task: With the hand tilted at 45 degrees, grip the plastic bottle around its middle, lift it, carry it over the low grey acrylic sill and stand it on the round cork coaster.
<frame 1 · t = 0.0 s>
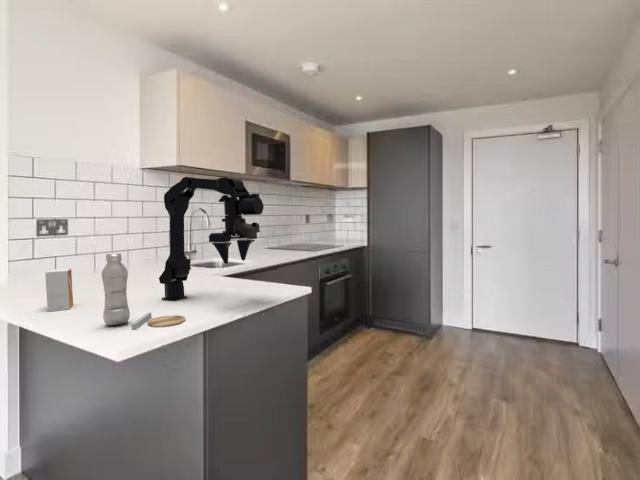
hand: (235, 261, 127), 15 cm above the countertop, tool pointing down, fingers open, 9 cm apart
coaster: (166, 322, 108), on the countertop
small box: (61, 308, 128), on the countertop
plastic bottle: (117, 325, 106), on the countertop
sill: (142, 323, 107), on the countertop
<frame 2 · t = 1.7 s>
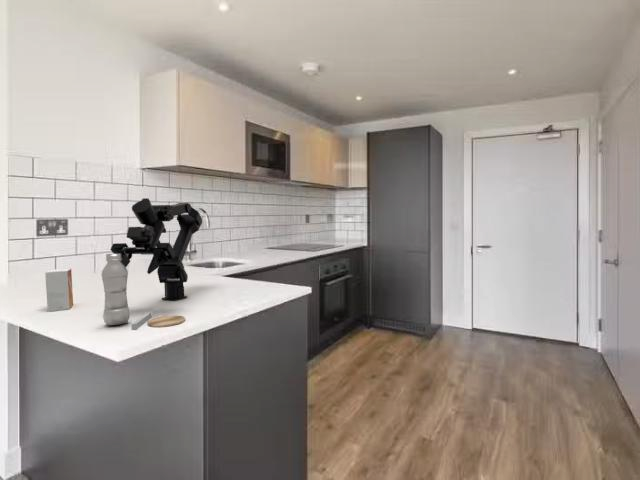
hand: (133, 273, 114), 13 cm above the countertop, tool tilted 45°, fingers open, 9 cm apart
nothing on the countertop moved.
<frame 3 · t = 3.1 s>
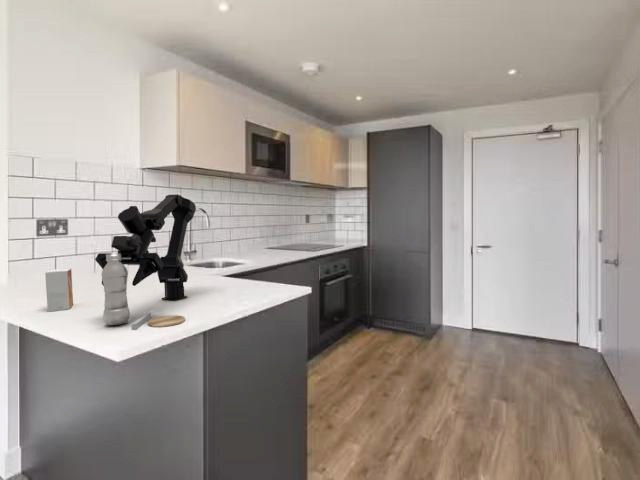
hand: (118, 285, 107), 11 cm above the countertop, tool tilted 45°, fingers open, 9 cm apart
nothing on the countertop moved.
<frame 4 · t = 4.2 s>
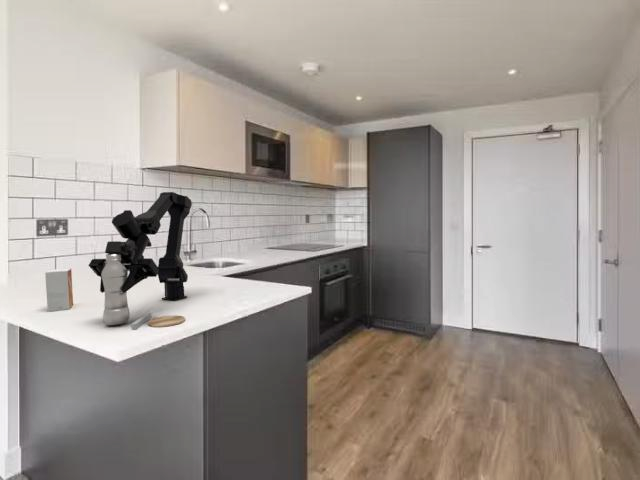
hand: (112, 291, 104), 10 cm above the countertop, tool tilted 45°, fingers closed on plastic bottle, 6 cm apart
plastic bottle: (117, 325, 106), on the countertop, touching gripper
everything else where it was.
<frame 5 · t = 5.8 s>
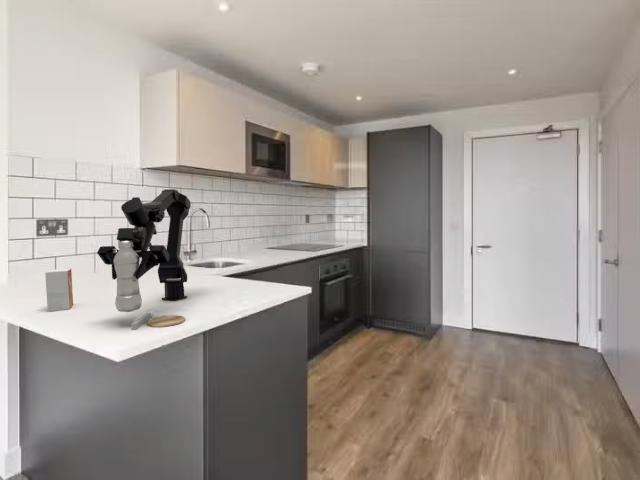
hand: (125, 278, 104), 13 cm above the countertop, tool tilted 45°, fingers closed on plastic bottle, 6 cm apart
plastic bottle: (129, 312, 106), point 3 cm above the countertop, touching gripper
everything else where it was.
when the fingers open (11 cm above the countertop, at t = 7.6 s): plastic bottle stays where it is, resting on coaster.
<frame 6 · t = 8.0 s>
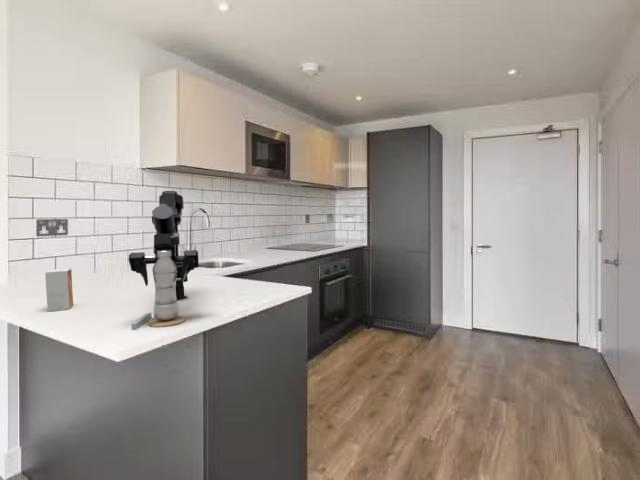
hand: (164, 283, 106), 11 cm above the countertop, tool tilted 45°, fingers open, 9 cm apart
plastic bottle: (166, 320, 108), resting on coaster
everything else where it was.
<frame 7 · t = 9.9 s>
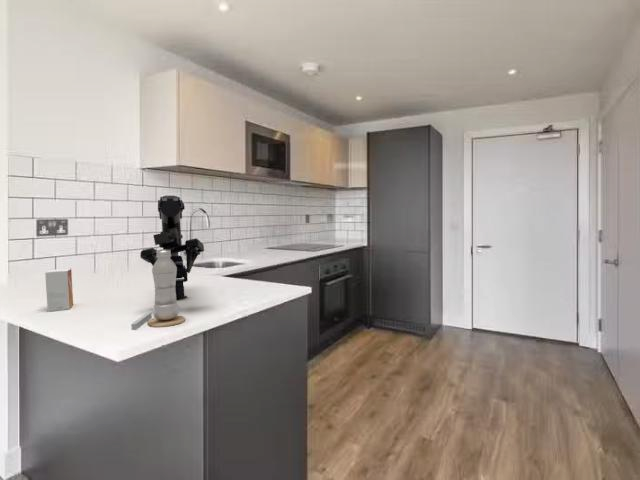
hand: (174, 275, 118), 12 cm above the countertop, tool tilted 25°, fingers open, 9 cm apart
nothing on the countertop moved.
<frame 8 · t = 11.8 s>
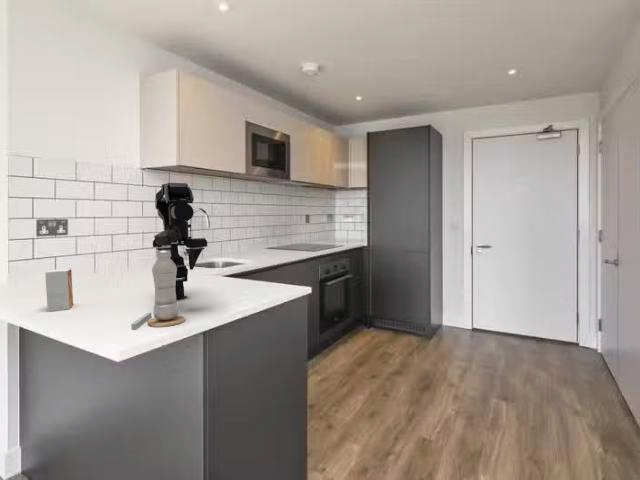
hand: (180, 269, 124), 13 cm above the countertop, tool pointing down, fingers open, 9 cm apart
nothing on the countertop moved.
at the end: plastic bottle 0.3 cm from the coaster (horizontally); plastic bottle tilted 0°; the gripper is holding nothing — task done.
